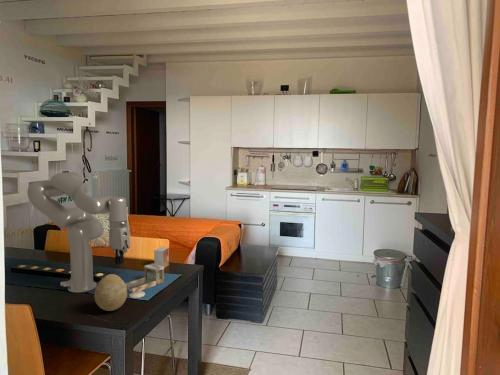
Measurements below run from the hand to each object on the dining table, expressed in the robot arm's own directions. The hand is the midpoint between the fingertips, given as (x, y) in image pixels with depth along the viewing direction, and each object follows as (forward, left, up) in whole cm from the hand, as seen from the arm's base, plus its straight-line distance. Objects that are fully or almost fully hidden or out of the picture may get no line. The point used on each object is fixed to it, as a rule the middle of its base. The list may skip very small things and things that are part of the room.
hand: (119, 263), depth 165 cm
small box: (+27, +31, -15) cm, 44 cm away
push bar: (+9, +5, -15) cm, 18 cm away
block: (+18, +9, -15) cm, 25 cm away
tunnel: (+12, +6, -14) cm, 19 cm away
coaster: (+7, -5, -14) cm, 17 cm away
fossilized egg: (-6, -16, -15) cm, 22 cm away
